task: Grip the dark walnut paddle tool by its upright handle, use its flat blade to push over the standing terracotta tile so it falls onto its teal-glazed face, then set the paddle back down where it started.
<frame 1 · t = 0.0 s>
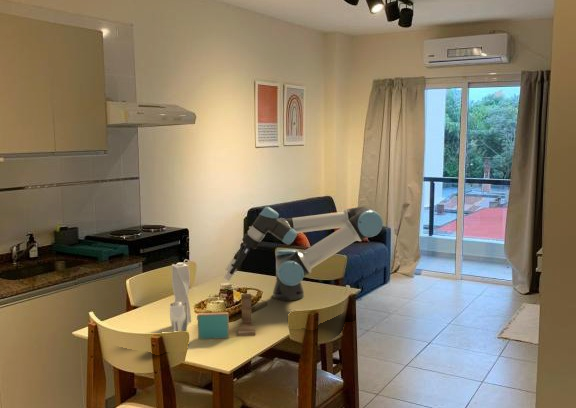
hand: (227, 274, 257), 15 cm above the table, tool tilted 35°, fingers open, 13 cm apart
tile: (213, 337, 223), on the table
skyscraper: (183, 324, 239), on the table
beer glass: (180, 341, 220), on the table
paddle: (246, 323, 239), on the table
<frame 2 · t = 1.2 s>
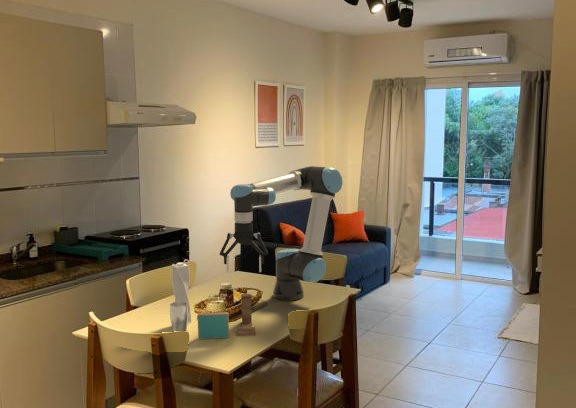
hand: (244, 271, 236), 22 cm above the table, tool pointing down, fingers open, 13 cm apart
nothing on the table moved.
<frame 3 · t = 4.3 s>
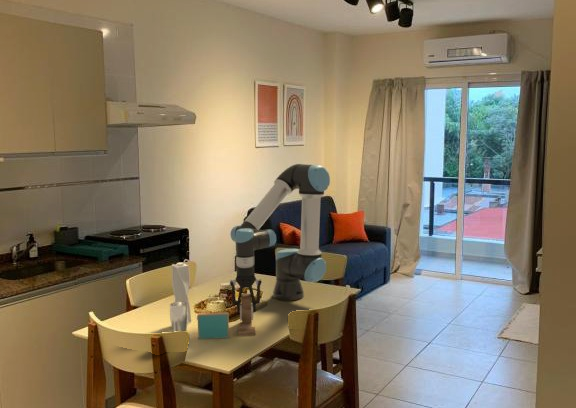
hand: (246, 319, 238), 2 cm above the table, tool pointing down, fingers closed on paddle, 4 cm apart
paddle: (246, 322, 239), on the table, touching gripper
everything else where it was.
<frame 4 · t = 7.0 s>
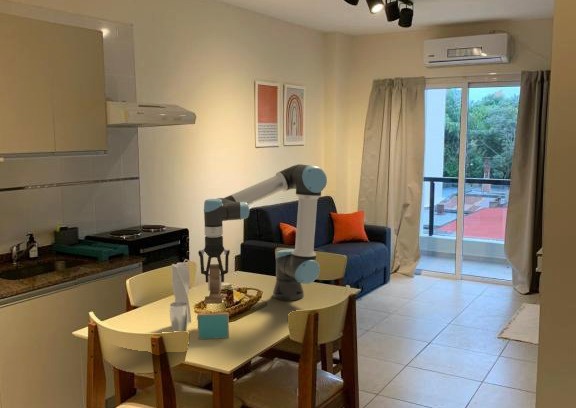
hand: (215, 289, 239), 14 cm above the table, tool pointing down, fingers closed on paddle, 4 cm apart
paddle: (215, 293, 240), point 12 cm above the table, touching gripper
everything else where it was.
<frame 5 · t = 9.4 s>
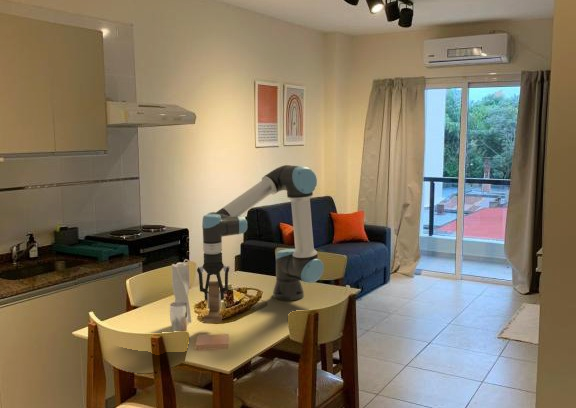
hand: (214, 307, 233), 9 cm above the table, tool pointing down, fingers closed on paddle, 4 cm apart
tile: (213, 336, 222), point 1 cm above the table, tilted 90°
paddle: (214, 311, 233), point 7 cm above the table, touching gripper
everything else where it was.
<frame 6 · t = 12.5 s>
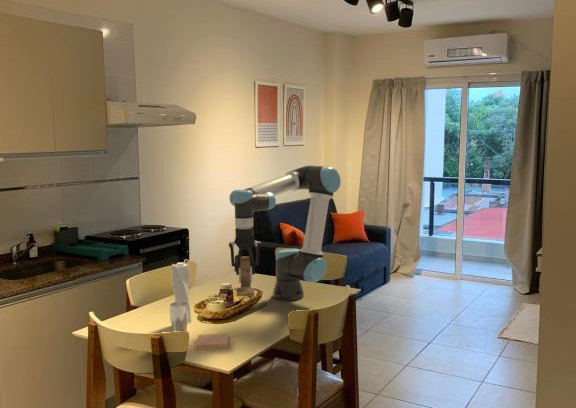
hand: (245, 281, 236), 18 cm above the table, tool pointing down, fingers closed on paddle, 4 cm apart
paddle: (245, 285, 236), point 16 cm above the table, touching gripper
everything else where it was.
when the fingers open (3 cm above the table, at t = 15.3 s): paddle drops 1 cm, on the table.
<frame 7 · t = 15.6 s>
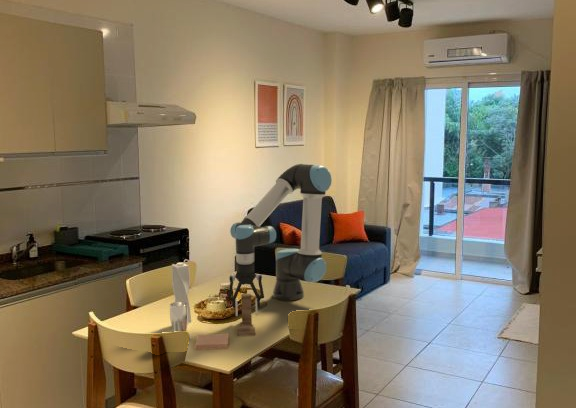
hand: (246, 314, 238), 4 cm above the table, tool pointing down, fingers open, 8 cm apart
paddle: (246, 323, 239), on the table
everything else where it was.
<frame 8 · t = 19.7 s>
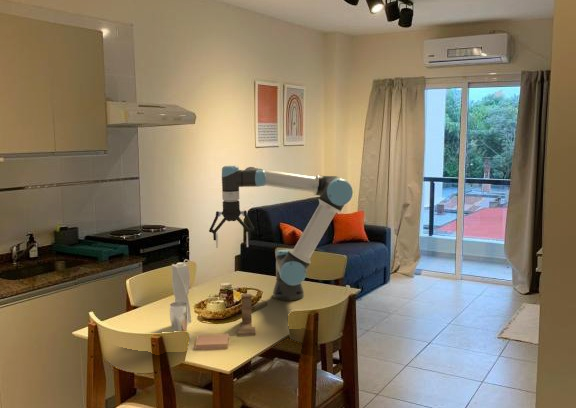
hand: (232, 246, 254), 29 cm above the table, tool pointing down, fingers open, 13 cm apart
nothing on the table moved.
at the end: tile tilted 90°; the gripper is holding nothing; paddle inside the target area (0.0 cm from its centre), on the table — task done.
